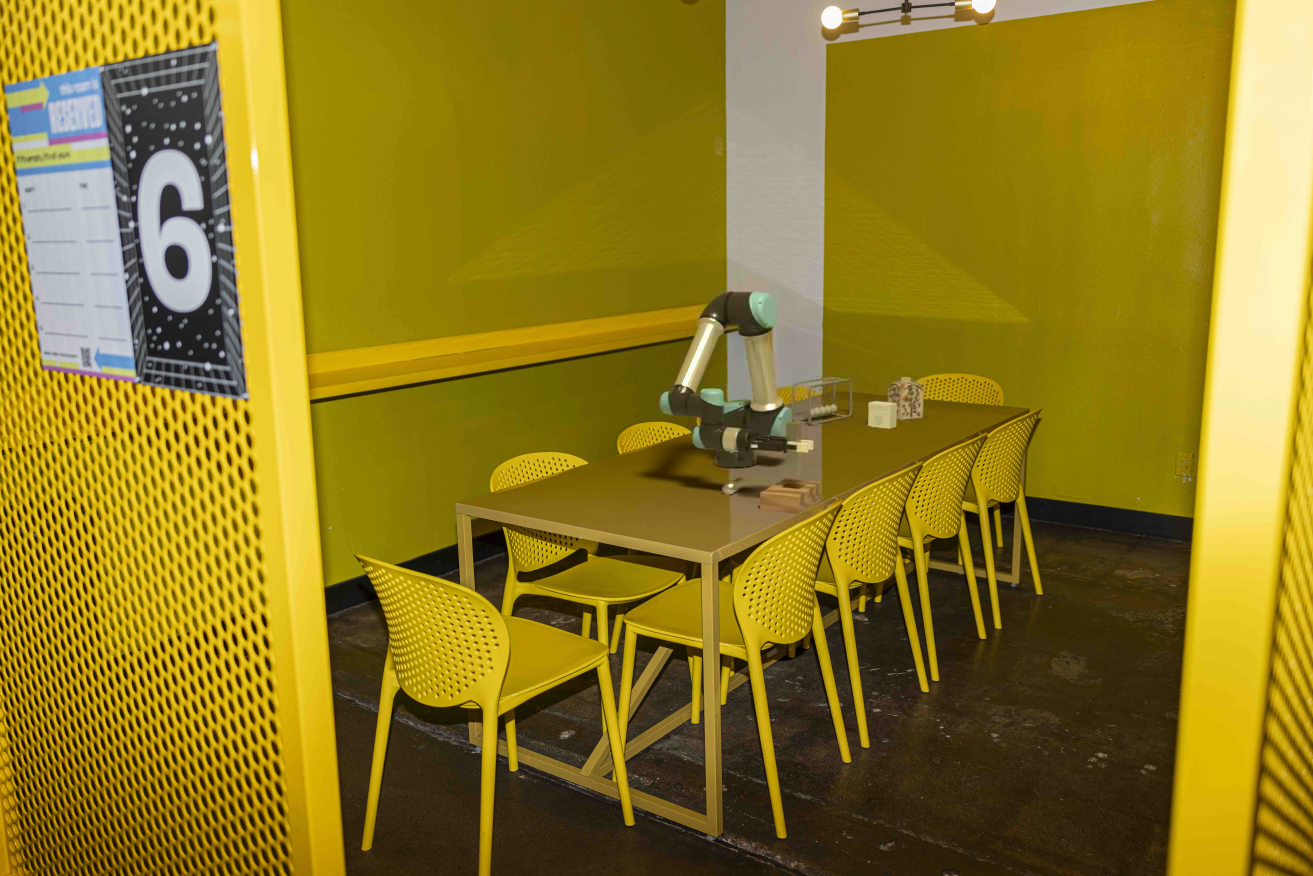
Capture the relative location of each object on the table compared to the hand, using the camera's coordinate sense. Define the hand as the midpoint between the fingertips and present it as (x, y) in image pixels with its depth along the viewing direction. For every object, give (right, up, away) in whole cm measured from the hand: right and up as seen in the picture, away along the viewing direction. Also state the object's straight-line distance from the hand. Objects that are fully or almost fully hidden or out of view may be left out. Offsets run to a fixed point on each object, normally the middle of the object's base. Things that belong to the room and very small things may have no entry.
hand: (810, 446), depth 298 cm
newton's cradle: (+27, +10, +139) cm, 142 cm away
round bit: (-22, -15, +21) cm, 34 cm away
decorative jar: (+65, +12, +141) cm, 156 cm away
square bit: (-5, -8, +4) cm, 10 cm away
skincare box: (+50, +7, +121) cm, 131 cm away
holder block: (-5, -17, +5) cm, 19 cm away
